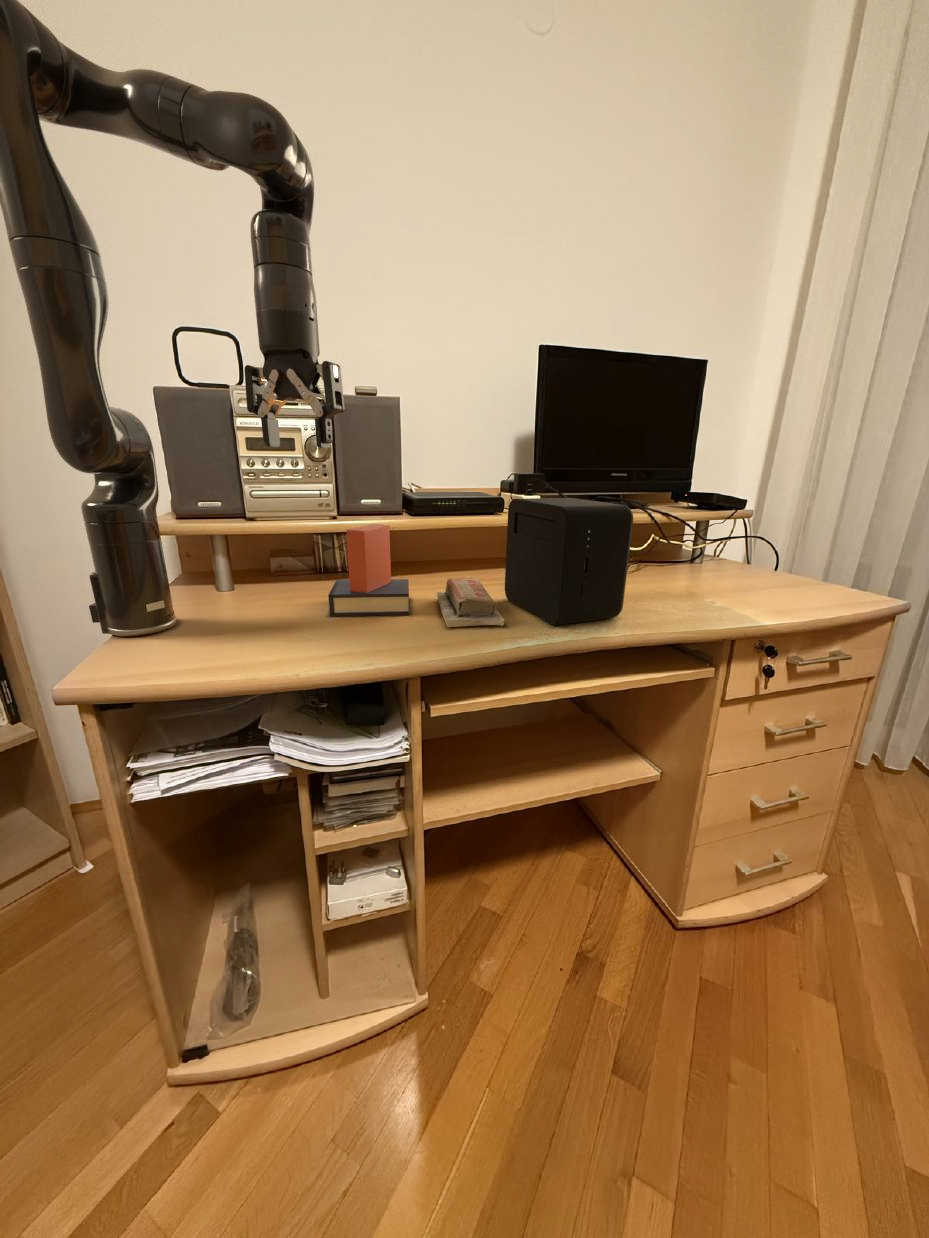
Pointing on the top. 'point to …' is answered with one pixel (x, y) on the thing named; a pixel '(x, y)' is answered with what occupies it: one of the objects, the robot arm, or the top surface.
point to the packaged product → (468, 604)
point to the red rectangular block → (369, 557)
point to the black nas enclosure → (567, 558)
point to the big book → (370, 600)
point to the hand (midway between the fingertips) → (298, 447)
